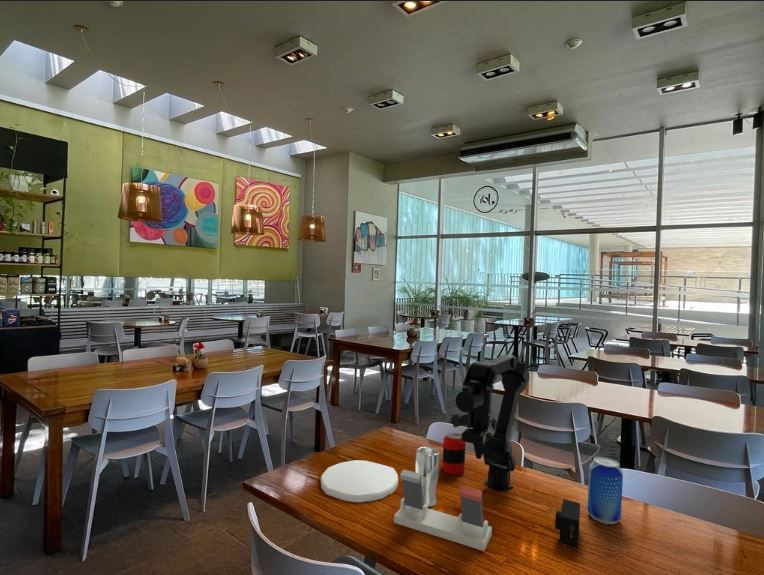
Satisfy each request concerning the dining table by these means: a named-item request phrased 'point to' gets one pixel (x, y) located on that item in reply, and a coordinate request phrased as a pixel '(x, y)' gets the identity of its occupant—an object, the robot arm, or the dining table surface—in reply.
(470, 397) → the robot arm
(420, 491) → the grey lever
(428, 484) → the beer glass
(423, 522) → the switch console
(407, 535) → the dining table surface
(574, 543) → the digital camera
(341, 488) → the white flat disc
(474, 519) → the red-capped switch paddle
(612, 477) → the beer can
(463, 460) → the soda can
